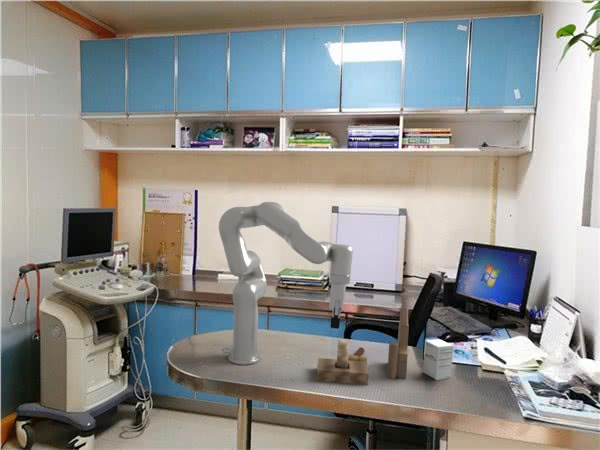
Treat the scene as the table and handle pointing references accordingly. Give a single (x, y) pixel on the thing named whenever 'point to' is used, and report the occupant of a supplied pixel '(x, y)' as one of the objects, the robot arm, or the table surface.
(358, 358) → the gavel
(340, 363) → the wooden pepper mill
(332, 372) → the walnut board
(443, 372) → the supplement box
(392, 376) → the wooden toy
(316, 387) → the table surface
